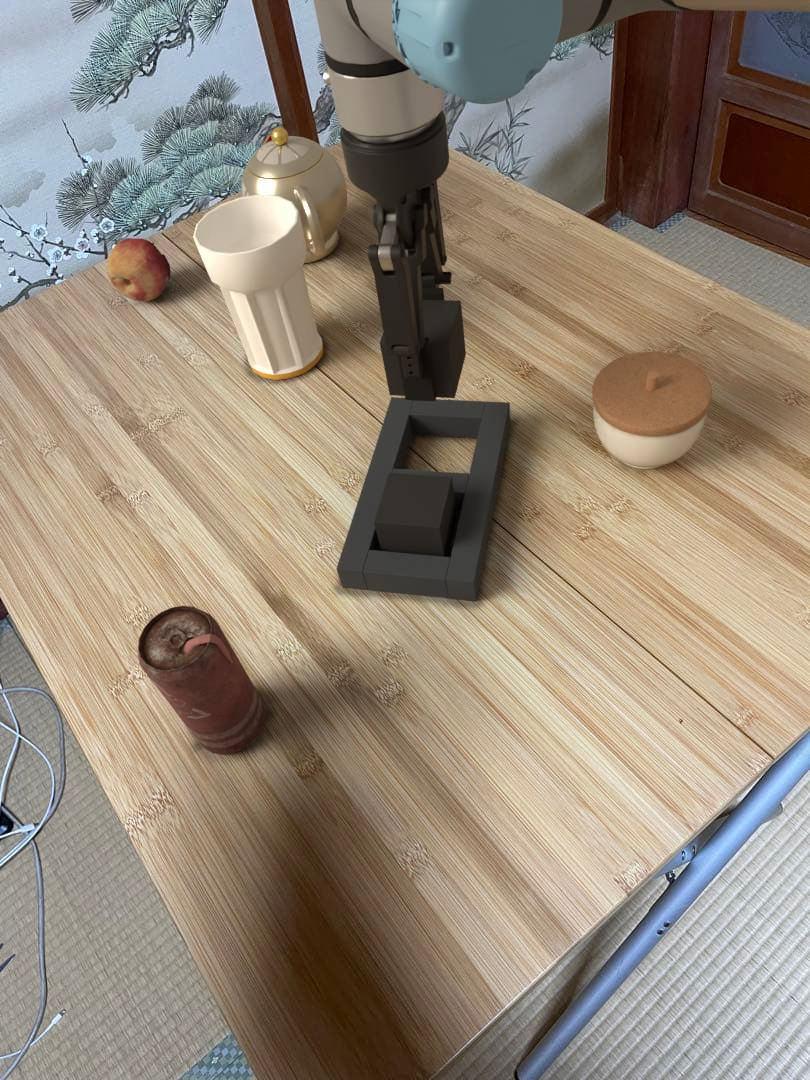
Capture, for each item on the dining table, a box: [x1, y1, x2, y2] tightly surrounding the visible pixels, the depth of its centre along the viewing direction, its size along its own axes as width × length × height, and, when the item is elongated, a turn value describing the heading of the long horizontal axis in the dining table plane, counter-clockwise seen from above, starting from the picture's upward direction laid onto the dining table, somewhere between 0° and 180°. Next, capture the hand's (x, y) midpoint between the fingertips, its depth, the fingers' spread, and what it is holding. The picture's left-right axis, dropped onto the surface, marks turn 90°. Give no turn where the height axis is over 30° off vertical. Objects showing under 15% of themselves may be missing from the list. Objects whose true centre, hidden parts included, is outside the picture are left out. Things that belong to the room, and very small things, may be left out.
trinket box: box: [591, 351, 713, 470], centre depth 80 cm, size 11×11×9 cm
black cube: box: [379, 299, 467, 399], centre depth 74 cm, size 6×6×6 cm
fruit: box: [106, 237, 172, 302], centre depth 109 cm, size 8×8×8 cm
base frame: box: [336, 396, 512, 602], centre depth 82 cm, size 13×23×3 cm, turn 168°
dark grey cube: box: [374, 473, 459, 557], centre depth 77 cm, size 6×6×6 cm
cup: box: [192, 194, 324, 381], centre depth 93 cm, size 11×11×17 cm
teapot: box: [240, 126, 348, 264], centre depth 107 cm, size 18×14×16 cm
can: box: [137, 605, 267, 756], centre depth 65 cm, size 6×6×14 cm
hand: (428, 372), depth 76 cm, fingers closed on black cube, 6 cm apart
